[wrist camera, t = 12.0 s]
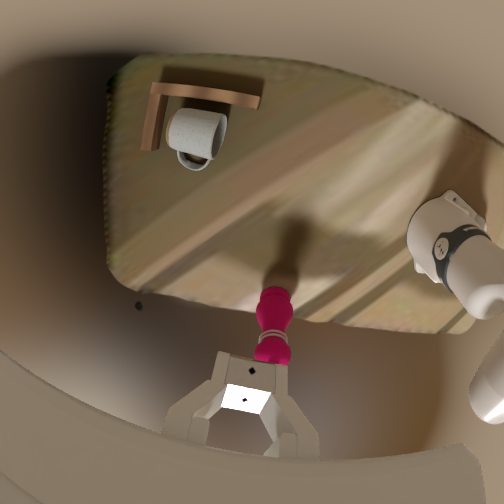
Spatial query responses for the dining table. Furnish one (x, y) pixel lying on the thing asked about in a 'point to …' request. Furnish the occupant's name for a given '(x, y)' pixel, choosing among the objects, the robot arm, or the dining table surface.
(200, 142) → the ceramic mug
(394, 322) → the dining table surface
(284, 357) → the pepper mill
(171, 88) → the walnut stop
